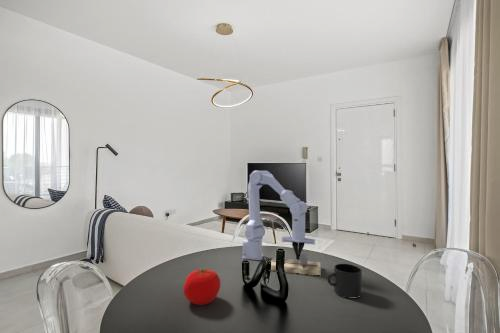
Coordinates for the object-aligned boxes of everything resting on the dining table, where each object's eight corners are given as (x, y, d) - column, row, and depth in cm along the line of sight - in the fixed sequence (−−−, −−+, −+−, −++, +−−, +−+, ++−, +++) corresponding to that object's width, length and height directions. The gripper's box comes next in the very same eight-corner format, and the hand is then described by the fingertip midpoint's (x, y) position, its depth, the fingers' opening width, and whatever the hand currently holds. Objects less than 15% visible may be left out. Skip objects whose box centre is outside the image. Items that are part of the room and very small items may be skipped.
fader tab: (300, 265, 116) (300, 256, 116) (300, 261, 120) (300, 253, 120) (307, 265, 115) (307, 257, 115) (307, 262, 119) (307, 254, 119)
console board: (268, 270, 116) (269, 264, 116) (272, 262, 126) (272, 257, 126) (320, 276, 111) (320, 270, 111) (320, 267, 120) (320, 262, 121)
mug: (323, 286, 101) (324, 263, 101) (355, 287, 101) (355, 263, 101) (331, 298, 92) (331, 272, 92) (365, 299, 91) (366, 273, 92)
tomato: (176, 305, 85) (177, 273, 85) (198, 290, 96) (199, 261, 96) (206, 314, 80) (206, 279, 80) (225, 296, 91) (226, 266, 92)
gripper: (281, 229, 116) (280, 260, 116) (315, 231, 113) (314, 263, 112) (283, 226, 123) (282, 255, 123) (315, 228, 119) (314, 258, 119)
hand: (298, 259), depth 118 cm, fingers closed
